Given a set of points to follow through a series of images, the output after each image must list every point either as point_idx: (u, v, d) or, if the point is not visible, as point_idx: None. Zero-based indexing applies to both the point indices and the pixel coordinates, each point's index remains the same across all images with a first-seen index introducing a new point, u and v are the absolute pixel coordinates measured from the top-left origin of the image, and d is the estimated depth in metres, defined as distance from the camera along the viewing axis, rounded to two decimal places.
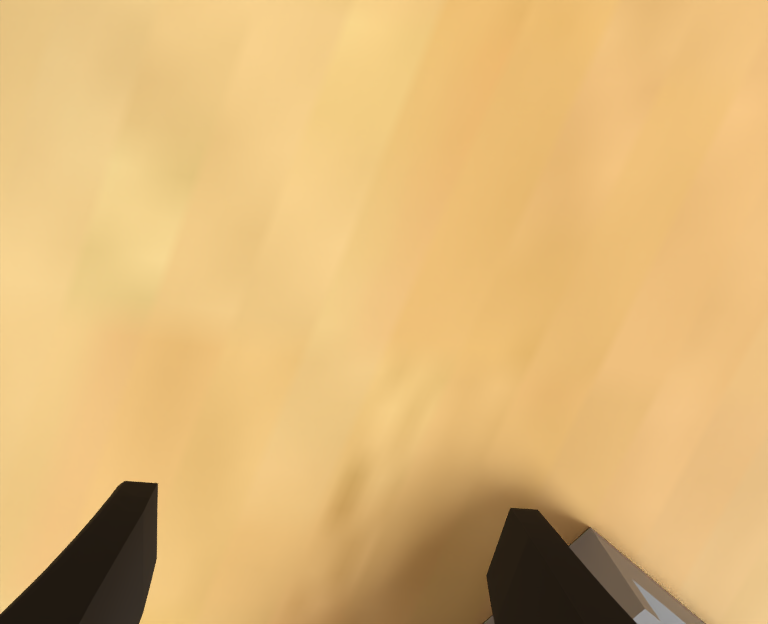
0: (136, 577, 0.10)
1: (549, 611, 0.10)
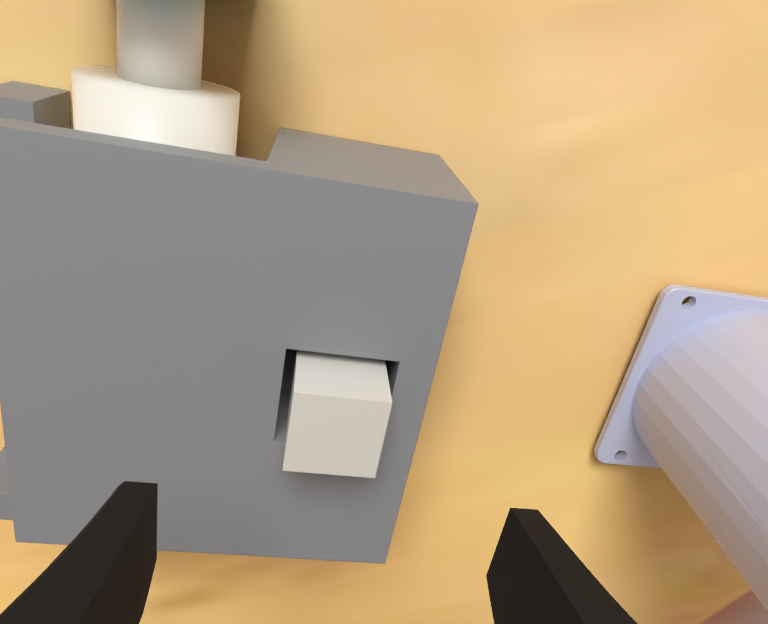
0: (136, 577, 0.10)
1: (549, 611, 0.10)
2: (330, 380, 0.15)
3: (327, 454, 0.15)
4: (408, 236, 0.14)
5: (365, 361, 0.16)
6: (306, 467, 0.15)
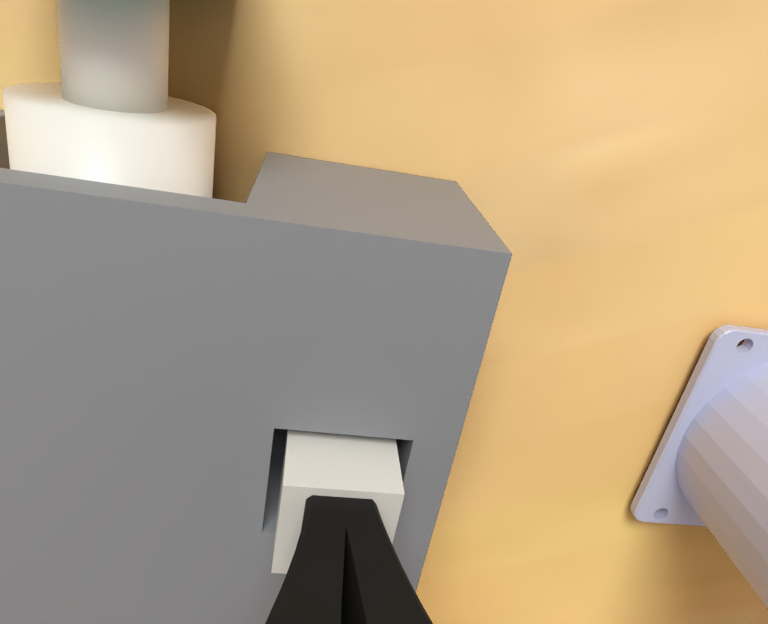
0: None
1: (351, 603, 0.10)
2: (328, 465, 0.12)
3: None
4: (424, 294, 0.11)
5: None
6: None
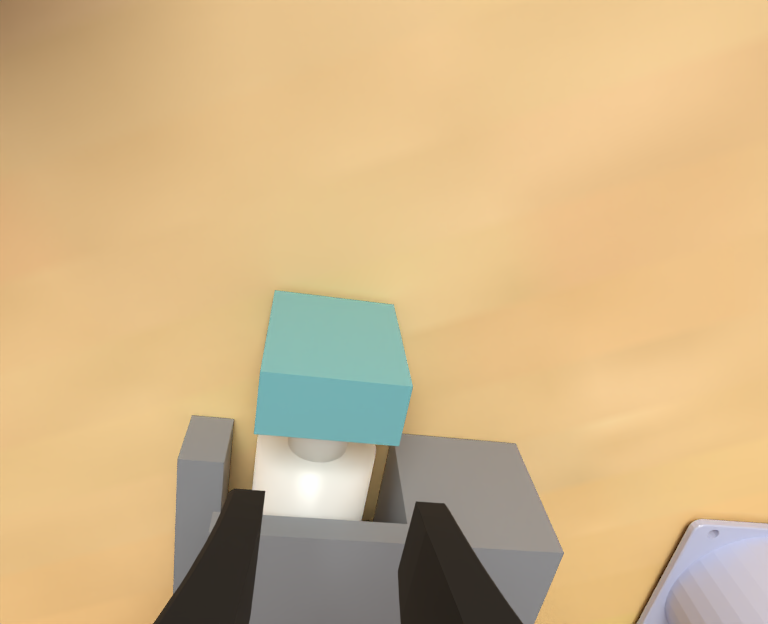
0: (252, 582, 0.11)
1: (438, 606, 0.10)
2: None
3: None
4: (511, 573, 0.19)
5: None
6: None
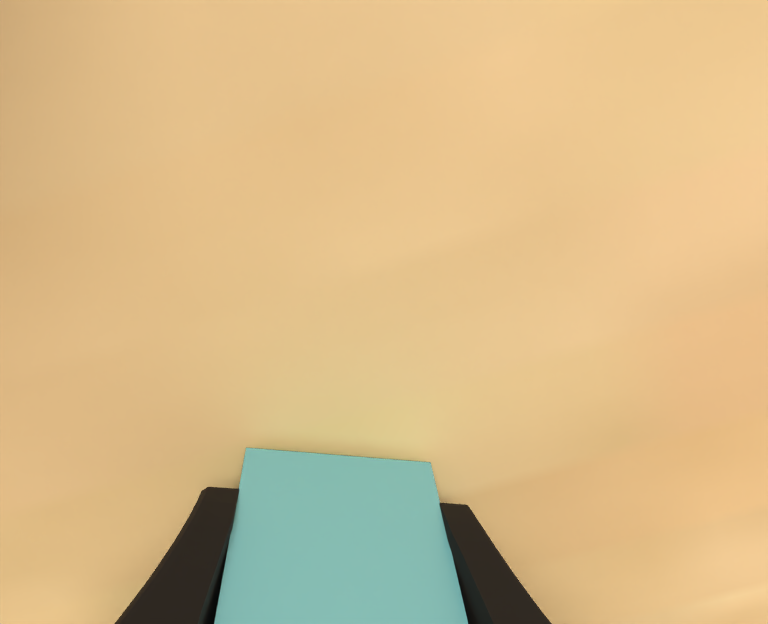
0: None
1: (465, 608, 0.10)
2: None
3: None
4: None
5: None
6: None
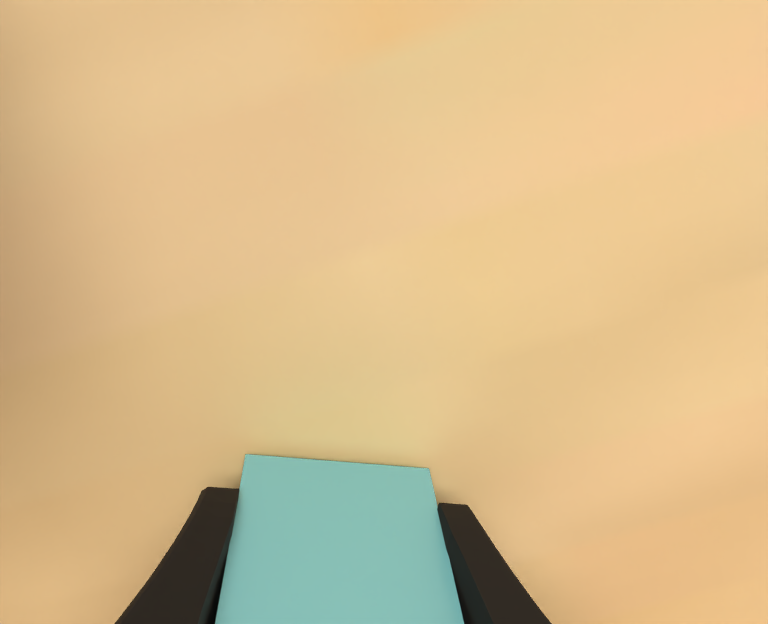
0: None
1: (465, 608, 0.10)
2: None
3: None
4: None
5: None
6: None
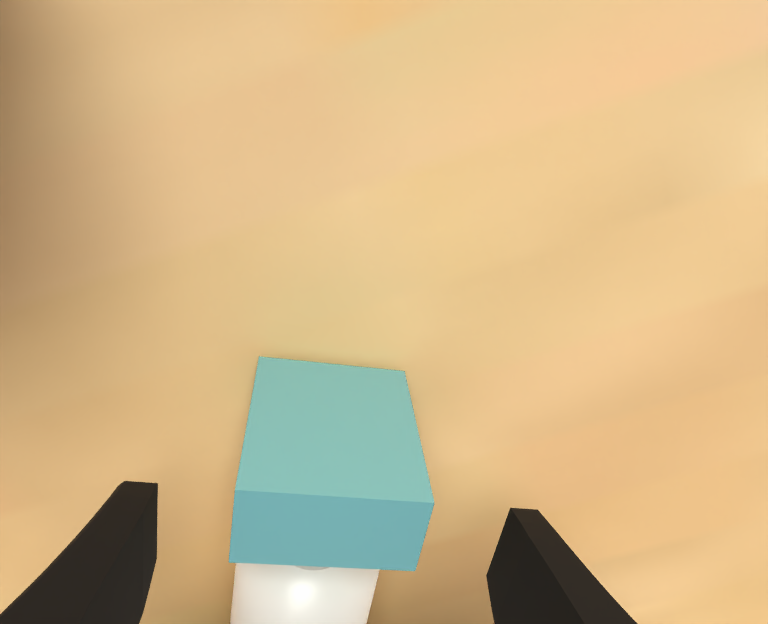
0: (136, 577, 0.10)
1: (549, 611, 0.10)
2: None
3: None
4: None
5: None
6: None
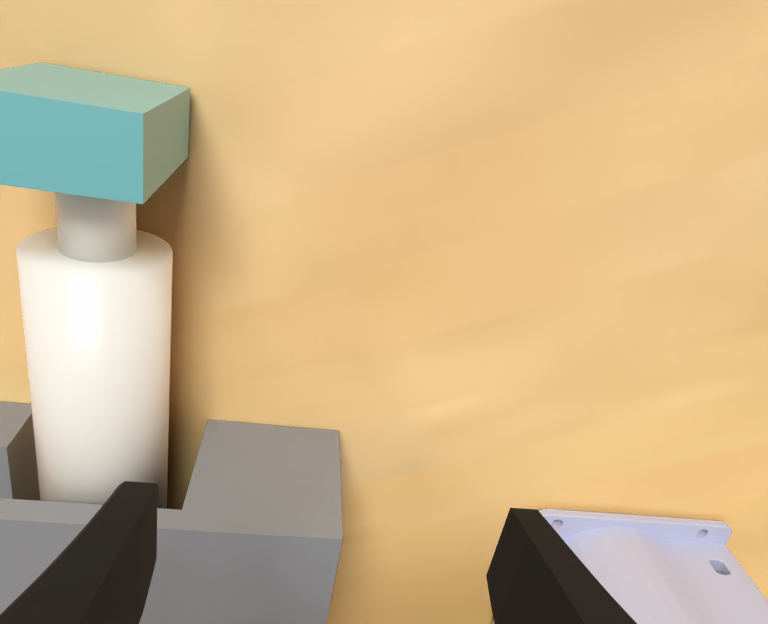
0: (136, 577, 0.10)
1: (549, 611, 0.10)
2: None
3: None
4: (291, 560, 0.19)
5: None
6: None
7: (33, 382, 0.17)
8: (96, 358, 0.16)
